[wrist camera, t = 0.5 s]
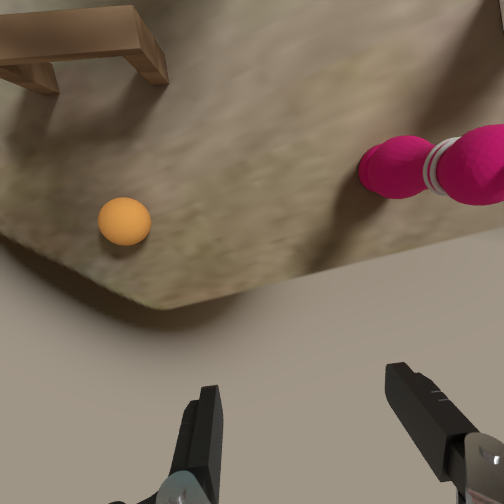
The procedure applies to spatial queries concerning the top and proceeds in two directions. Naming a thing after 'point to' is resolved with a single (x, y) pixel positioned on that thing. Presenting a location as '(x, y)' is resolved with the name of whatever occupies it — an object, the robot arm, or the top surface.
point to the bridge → (75, 44)
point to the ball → (124, 221)
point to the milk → (502, 10)
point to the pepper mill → (439, 167)
